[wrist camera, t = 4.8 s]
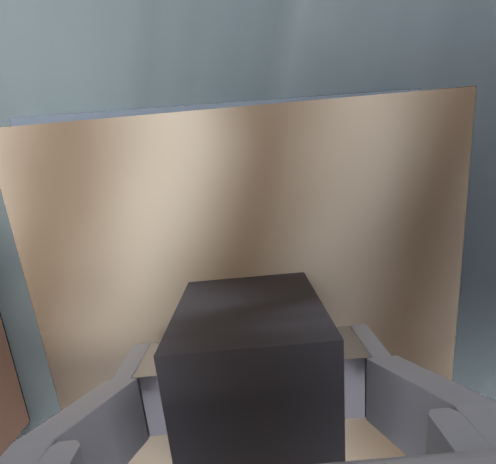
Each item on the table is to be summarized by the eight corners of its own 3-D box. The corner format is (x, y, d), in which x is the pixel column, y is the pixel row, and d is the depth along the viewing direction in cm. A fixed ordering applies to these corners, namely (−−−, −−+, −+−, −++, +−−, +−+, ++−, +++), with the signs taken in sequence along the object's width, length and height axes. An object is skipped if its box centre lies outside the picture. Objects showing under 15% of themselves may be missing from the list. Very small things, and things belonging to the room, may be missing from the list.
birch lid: (449, 95, 10) (667, 19, 5) (426, 447, 13) (541, 622, 8) (14, 133, 10) (-226, 96, 5) (101, 475, 13) (12, 668, 8)
